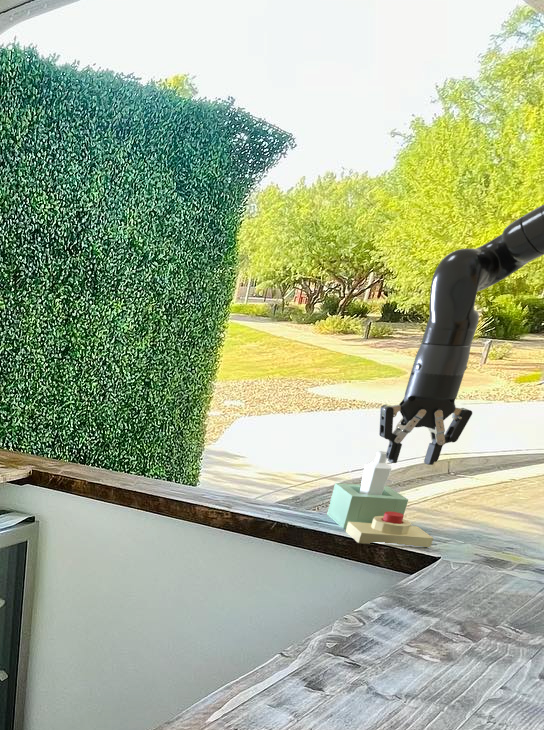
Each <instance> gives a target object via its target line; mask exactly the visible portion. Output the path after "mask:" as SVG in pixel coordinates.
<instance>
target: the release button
mask: <svg viewBox="0 0 544 730" xmlns="http://www.w3.org/2000/svg"><path fill="white" fill-rule="evenodd" d="M404 516H405V514H404V515H403V514H401V513H397V512H385V514H384V517H383V521H385V522H389V523H394V524H401V523H402V520H403V519H404Z"/></svg>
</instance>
